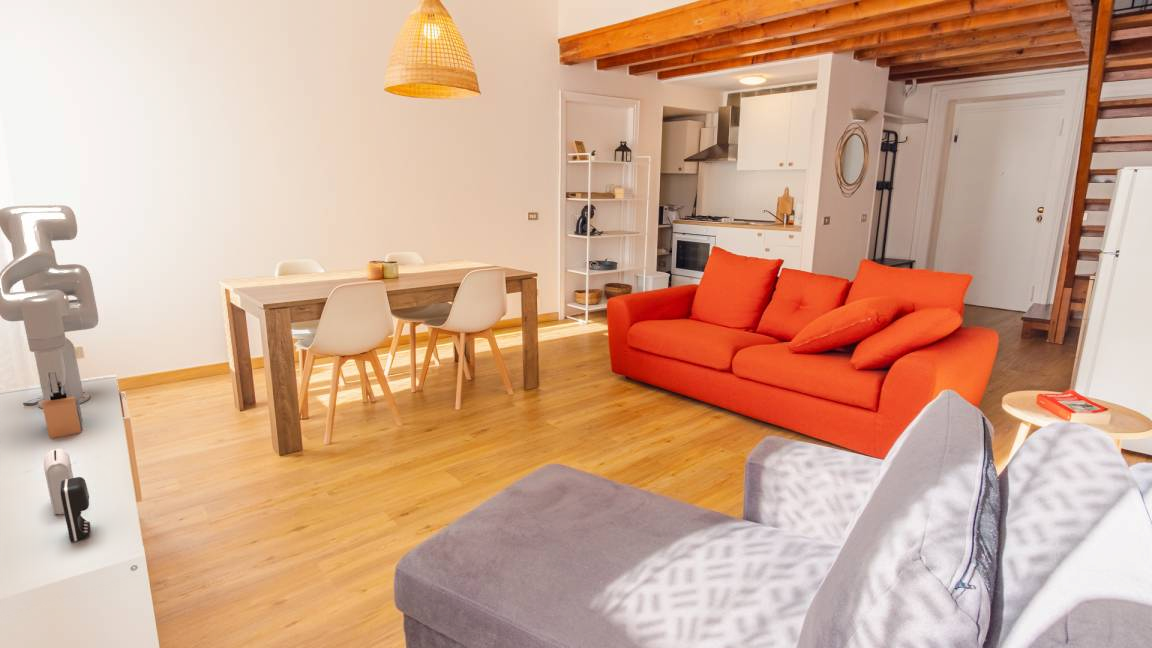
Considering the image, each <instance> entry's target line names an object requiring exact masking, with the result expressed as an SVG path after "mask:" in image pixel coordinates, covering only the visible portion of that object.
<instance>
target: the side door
mask: <svg viewBox="0 0 1152 648" xmlns="http://www.w3.org/2000/svg"><path fill="white" fill-rule="evenodd" d="M42 407H43V408H42V410H43V411H42V412H43V415H44V419H45V422H46V427H47V428H48V429H47V432H49V433H48V437H49V436H50V437H49V439H51V440H52V439H57V438H61V437H65V436H66V437H67V436H72V435H77V434H78V435H79V434H82V431H81V427H80V422H79V418H78V413H77V408H76V404H75V399H74V397H69V398H63V399H57V400H51V401H45V402H42Z"/></svg>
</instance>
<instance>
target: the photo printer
mask: <svg viewBox="0 0 1152 648" xmlns="http://www.w3.org/2000/svg"><path fill="white" fill-rule="evenodd" d="M43 467H44V468H43V469H44V475H45V479H46V483H47V489H48V494H49V498H50V504H51V507H52V511H53V513H54V514H55V515H57V514H58V515H65V514H64V509H63V504H62V499H61V493H60V489H61V482H62V481H63V480H65V479H71V478H74V474H73V469H72V464H71V457H70V454H69V452H67V450H65V449H63V448H55V449H51V450H49V451H48V452H47V453H46V455H45V457H44V461H43Z"/></svg>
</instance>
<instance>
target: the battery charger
mask: <svg viewBox="0 0 1152 648" xmlns="http://www.w3.org/2000/svg"><path fill="white" fill-rule="evenodd" d="M88 489H89V488H88V486H87V483H86V480H85V478H83V477H81V476H76V477H73V478H71V479H65V480H63V481H62V482H61V489H60V493H61V499H62V504H63V509H64V514H63V515H64V518H65V523H66V526H67V532H68V537H69V541H70V542H71V543H73V542H78V541H80V540H84V539H86V538H88V537H90V535H91V522H90V521H87V520H86V519H85V518H83V516H82V512H83V511H86V510H88V509H89V506H90V494H89V490H88Z"/></svg>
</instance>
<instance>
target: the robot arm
mask: <svg viewBox="0 0 1152 648" xmlns="http://www.w3.org/2000/svg"><path fill="white" fill-rule="evenodd" d="M0 229H1V231H2V233H3V234H4V236H5V237H6V238H7V240H8V241H9V242H10V244H11V250H12V251H11V253H12V258H13V259H12V260H11V261H10V262H8V264H7V265H5V266H4V268H3V269H2V270H1V271H0V317H1V319H3V320H5V321H7V322H23V325H24V329H25V334H26V339H27V344H28V345H27V346H28V349H29V352H31V353H33V354H34V358H35V363H36V367H37V373H38V379H39V384H40V388H41V391H42V393H41V394H42V397H43V398H42V399H39V401H38V402H37V407H38V408H40V409H43V407H42V402H45V401H51V400H57V399H63V398H69V397H74V399H75V400H79V404H80V405H81V404H83V403H84V402H86V401H88V400H89V399H90V397H91V394H90V393H89V392H87V391H84V390H83V386H82V381H81V376H80V369H79V364H78V359H77V353H76V348H75V346H74V344H73V342H72V341H71V340H70V339H69V338H67V337H66V333H69V332H76V331H83V330H84V331H85V330H90V329H93V328H94V329H95V328H96V327H97V326H98V324H99V312H98V307H97V301H96V296H95V292H94V287H93V282H92V279H91V274H90V273H89V270H88V269H87V267H86V266H84V265H81V264H77V263H74V264H69V263H68V264H58V263H57V258H56V252H55V249H54V248H53V244H52V241H53V242H54V241H72V240H75V239H76V237H77V235H78V224H77V218H76V214H75V212H74V211H73V209H72V208H71V207H69V206H68V205H64V204H63V205H62V204H60V205H59V204H58V205H56V204H55V205H53V204H52V205H50V204H49V205H15V206H7V207H4V208H3V207H2V208H1V209H0ZM20 281H22V285H23V288H24V289H23V290H24V291H17V292H11V289H12V288H13V286H14V285H16V284H17V283H19V282H20ZM69 297H74V298H76V299H70V298H69Z"/></svg>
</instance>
